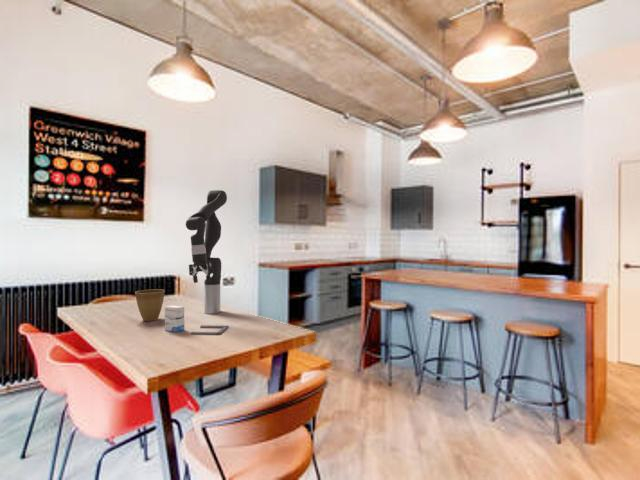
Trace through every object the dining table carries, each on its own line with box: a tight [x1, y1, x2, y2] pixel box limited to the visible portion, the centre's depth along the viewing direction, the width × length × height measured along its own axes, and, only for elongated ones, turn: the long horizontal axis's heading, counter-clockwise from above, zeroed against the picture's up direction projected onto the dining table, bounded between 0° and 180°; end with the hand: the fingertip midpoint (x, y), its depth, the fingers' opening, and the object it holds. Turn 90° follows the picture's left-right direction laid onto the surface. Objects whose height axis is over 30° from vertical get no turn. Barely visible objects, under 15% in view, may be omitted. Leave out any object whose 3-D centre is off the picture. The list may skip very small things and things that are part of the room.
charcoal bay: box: [190, 324, 229, 336], centre depth 178 cm, size 14×14×1 cm
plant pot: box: [134, 288, 166, 322], centre depth 200 cm, size 15×15×16 cm
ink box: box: [164, 305, 185, 333], centre depth 179 cm, size 8×5×12 cm, turn 65°
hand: (202, 282), depth 199 cm, fingers open, 8 cm apart
